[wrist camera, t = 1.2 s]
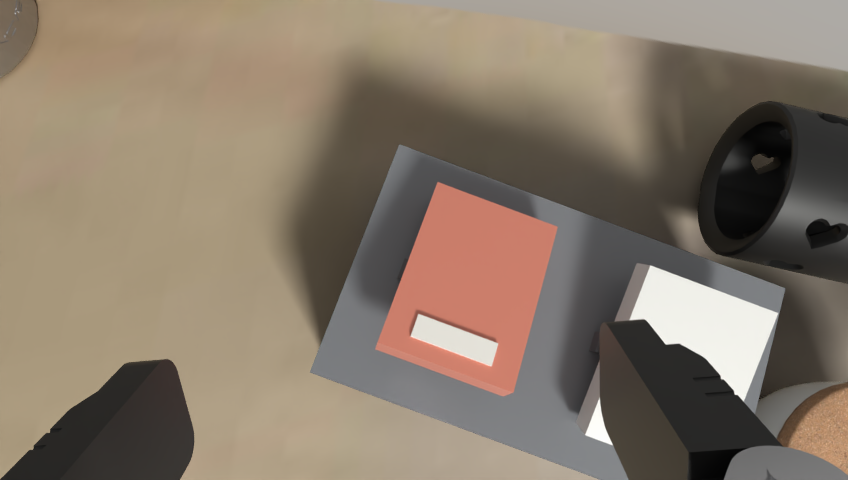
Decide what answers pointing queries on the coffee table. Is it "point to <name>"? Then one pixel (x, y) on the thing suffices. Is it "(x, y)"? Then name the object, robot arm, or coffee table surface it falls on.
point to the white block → (689, 331)
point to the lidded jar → (810, 419)
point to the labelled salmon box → (469, 291)
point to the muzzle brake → (780, 191)
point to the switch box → (551, 328)
